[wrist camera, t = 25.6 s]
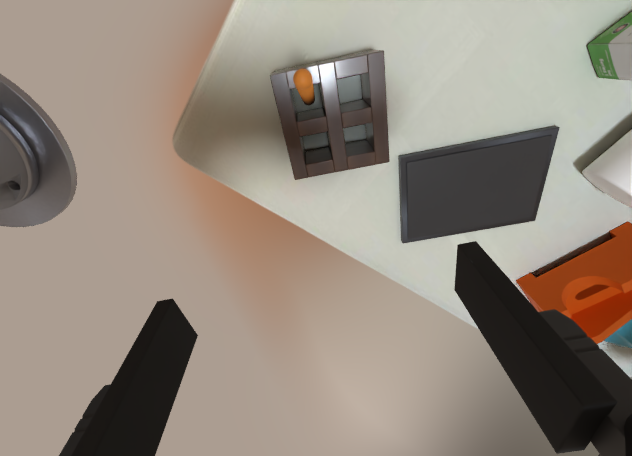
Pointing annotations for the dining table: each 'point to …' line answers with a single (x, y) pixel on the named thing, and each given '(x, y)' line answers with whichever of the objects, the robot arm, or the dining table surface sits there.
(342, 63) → the pen stand
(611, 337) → the vase
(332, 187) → the dining table surface
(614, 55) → the ink box
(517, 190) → the tablet
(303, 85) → the stylus
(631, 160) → the mug
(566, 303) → the orange slotted block
